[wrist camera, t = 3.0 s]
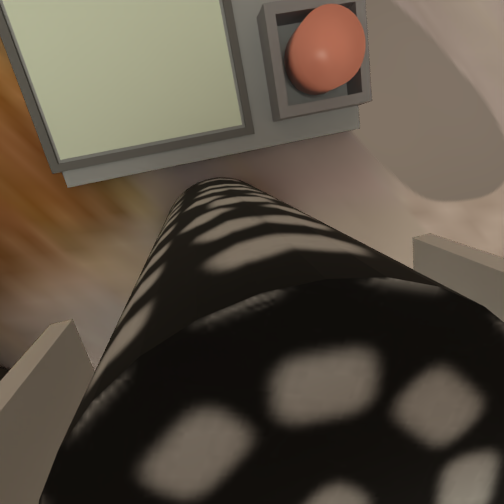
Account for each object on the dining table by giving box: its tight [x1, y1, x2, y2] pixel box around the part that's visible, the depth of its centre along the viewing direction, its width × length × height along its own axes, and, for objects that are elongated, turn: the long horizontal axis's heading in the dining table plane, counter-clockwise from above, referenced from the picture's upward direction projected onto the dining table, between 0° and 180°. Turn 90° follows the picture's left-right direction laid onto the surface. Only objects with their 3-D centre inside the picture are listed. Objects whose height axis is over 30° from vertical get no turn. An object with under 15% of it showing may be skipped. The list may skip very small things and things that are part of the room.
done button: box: [284, 4, 366, 95], centre depth 19 cm, size 4×4×2 cm
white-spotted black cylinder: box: [39, 178, 504, 504], centre depth 15 cm, size 8×8×20 cm
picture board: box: [0, 0, 372, 188], centre depth 19 cm, size 20×15×3 cm
